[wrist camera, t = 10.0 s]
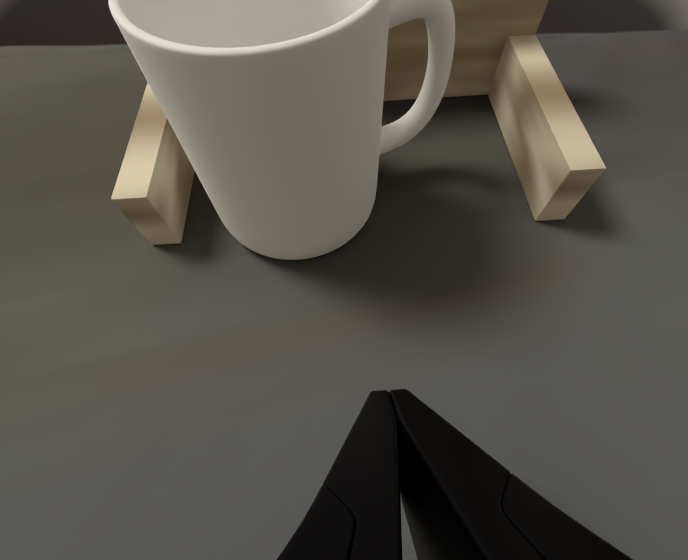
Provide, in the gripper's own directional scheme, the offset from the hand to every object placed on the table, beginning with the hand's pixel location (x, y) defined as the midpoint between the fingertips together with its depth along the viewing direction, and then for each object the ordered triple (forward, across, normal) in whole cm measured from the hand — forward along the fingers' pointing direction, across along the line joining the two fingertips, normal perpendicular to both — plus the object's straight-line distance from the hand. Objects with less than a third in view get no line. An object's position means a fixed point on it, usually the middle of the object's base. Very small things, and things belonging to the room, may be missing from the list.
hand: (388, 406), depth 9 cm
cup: (+13, +1, -5) cm, 14 cm away
